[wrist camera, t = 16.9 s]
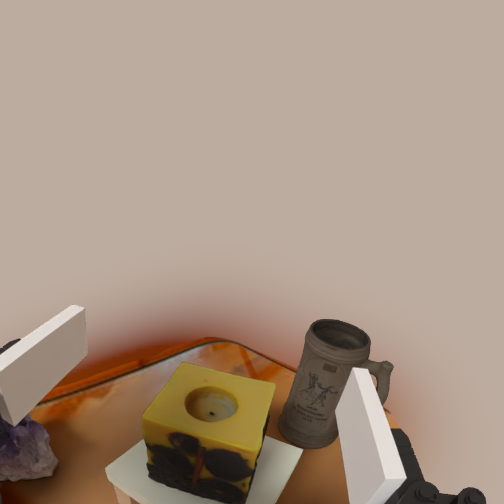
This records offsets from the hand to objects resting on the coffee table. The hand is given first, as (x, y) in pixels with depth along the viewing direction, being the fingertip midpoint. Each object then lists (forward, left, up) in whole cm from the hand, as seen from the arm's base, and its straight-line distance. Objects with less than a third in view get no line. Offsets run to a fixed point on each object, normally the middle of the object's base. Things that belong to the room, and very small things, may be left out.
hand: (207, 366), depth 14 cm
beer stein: (+6, +31, -30) cm, 43 cm away
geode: (-27, -8, -30) cm, 41 cm away
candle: (-4, +9, -21) cm, 23 cm away
